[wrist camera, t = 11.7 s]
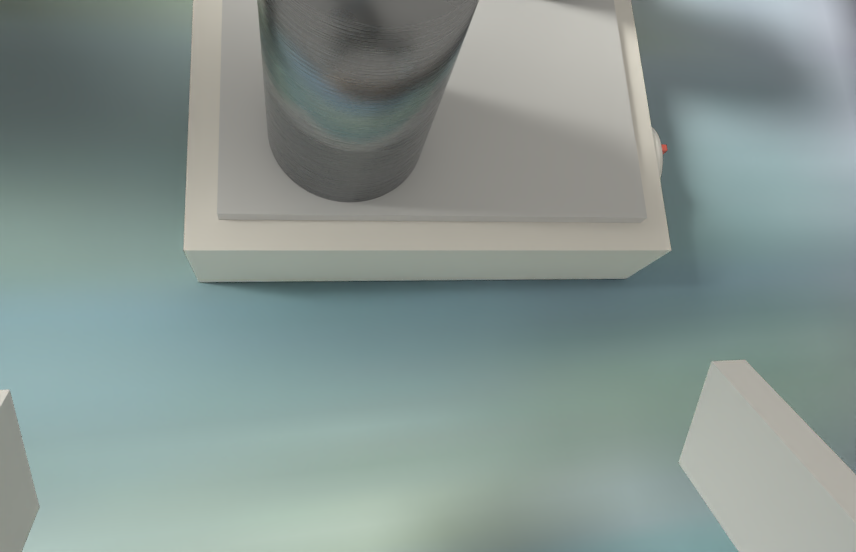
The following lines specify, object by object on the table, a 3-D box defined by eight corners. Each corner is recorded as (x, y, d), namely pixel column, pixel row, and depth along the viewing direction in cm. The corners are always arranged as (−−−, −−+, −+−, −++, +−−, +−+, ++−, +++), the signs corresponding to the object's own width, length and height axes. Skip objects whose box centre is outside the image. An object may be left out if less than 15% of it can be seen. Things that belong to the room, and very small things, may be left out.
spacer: (266, 201, 22) (248, 16, 13) (267, 58, 23) (251, -193, 14) (427, 203, 22) (507, 32, 14) (418, 65, 24) (487, -166, 15)
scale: (198, 282, 24) (180, 245, 21) (210, -94, 29) (197, -181, 25) (640, 278, 28) (695, 245, 24) (590, -60, 32) (630, -133, 28)
